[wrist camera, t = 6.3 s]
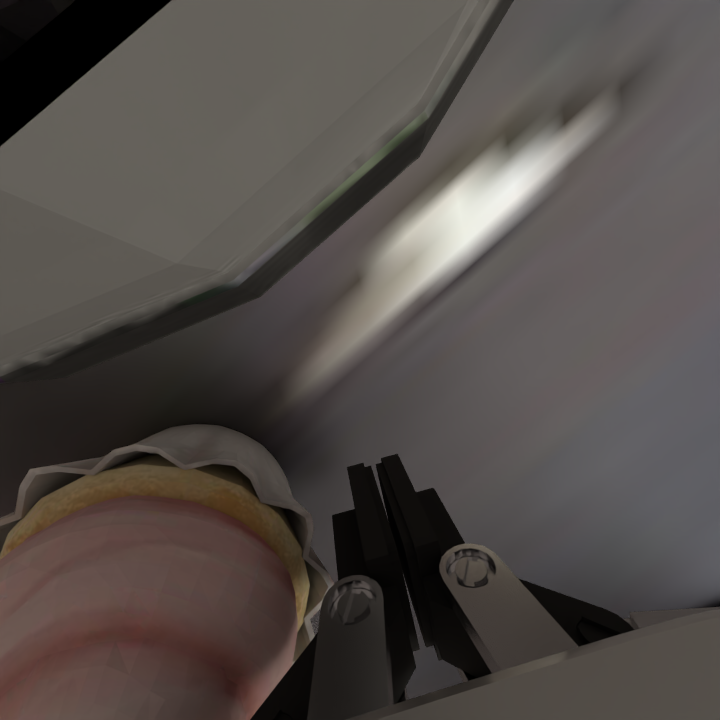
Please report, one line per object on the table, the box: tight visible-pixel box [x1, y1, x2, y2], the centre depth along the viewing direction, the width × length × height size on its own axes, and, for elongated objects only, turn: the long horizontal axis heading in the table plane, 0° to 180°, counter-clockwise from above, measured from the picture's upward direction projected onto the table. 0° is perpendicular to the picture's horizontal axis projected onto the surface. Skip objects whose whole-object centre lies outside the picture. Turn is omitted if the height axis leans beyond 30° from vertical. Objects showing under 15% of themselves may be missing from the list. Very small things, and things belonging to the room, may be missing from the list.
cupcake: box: [0, 424, 334, 720], centre depth 10 cm, size 9×9×10 cm
